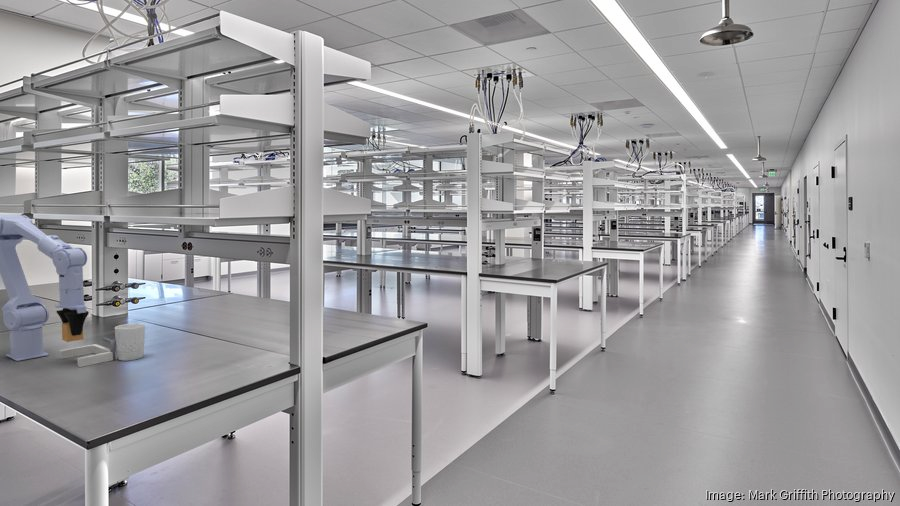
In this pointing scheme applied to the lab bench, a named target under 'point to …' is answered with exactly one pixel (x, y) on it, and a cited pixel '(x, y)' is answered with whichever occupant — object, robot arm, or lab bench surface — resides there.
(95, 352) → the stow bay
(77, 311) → the robot arm
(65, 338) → the tan wooden cube
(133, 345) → the white cup
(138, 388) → the lab bench surface
